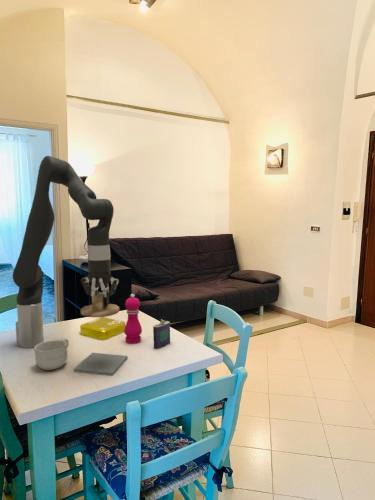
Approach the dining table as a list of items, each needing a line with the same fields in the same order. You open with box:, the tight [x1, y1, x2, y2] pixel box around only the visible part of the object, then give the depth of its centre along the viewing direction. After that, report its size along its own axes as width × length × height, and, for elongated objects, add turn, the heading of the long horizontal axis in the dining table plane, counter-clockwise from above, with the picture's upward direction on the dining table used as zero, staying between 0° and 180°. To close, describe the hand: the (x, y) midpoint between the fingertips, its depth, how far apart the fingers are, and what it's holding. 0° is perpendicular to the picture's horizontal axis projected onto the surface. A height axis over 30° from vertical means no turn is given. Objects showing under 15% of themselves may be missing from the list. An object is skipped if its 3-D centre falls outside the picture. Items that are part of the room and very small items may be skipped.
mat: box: [73, 352, 129, 377], centre depth 132 cm, size 14×14×1 cm
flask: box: [152, 319, 171, 350], centre depth 149 cm, size 9×3×11 cm, turn 144°
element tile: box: [79, 317, 126, 341], centre depth 165 cm, size 15×15×5 cm
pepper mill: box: [123, 293, 143, 345], centre depth 153 cm, size 7×7×20 cm
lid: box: [80, 291, 120, 318], centre depth 129 cm, size 13×13×6 cm
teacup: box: [33, 338, 69, 371], centre depth 131 cm, size 14×11×8 cm
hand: (100, 306), depth 129 cm, fingers closed on lid, 3 cm apart
